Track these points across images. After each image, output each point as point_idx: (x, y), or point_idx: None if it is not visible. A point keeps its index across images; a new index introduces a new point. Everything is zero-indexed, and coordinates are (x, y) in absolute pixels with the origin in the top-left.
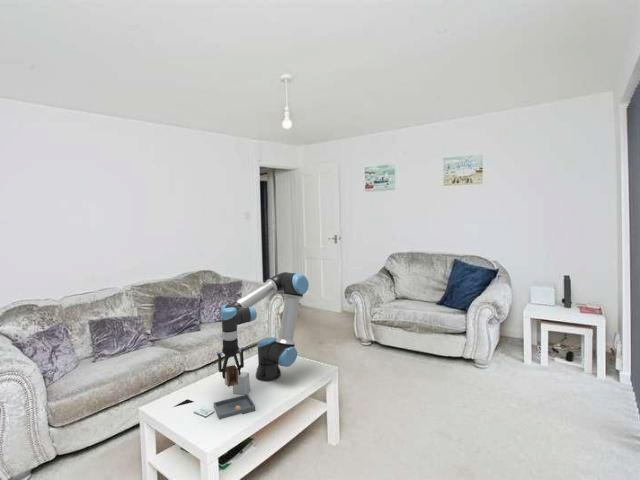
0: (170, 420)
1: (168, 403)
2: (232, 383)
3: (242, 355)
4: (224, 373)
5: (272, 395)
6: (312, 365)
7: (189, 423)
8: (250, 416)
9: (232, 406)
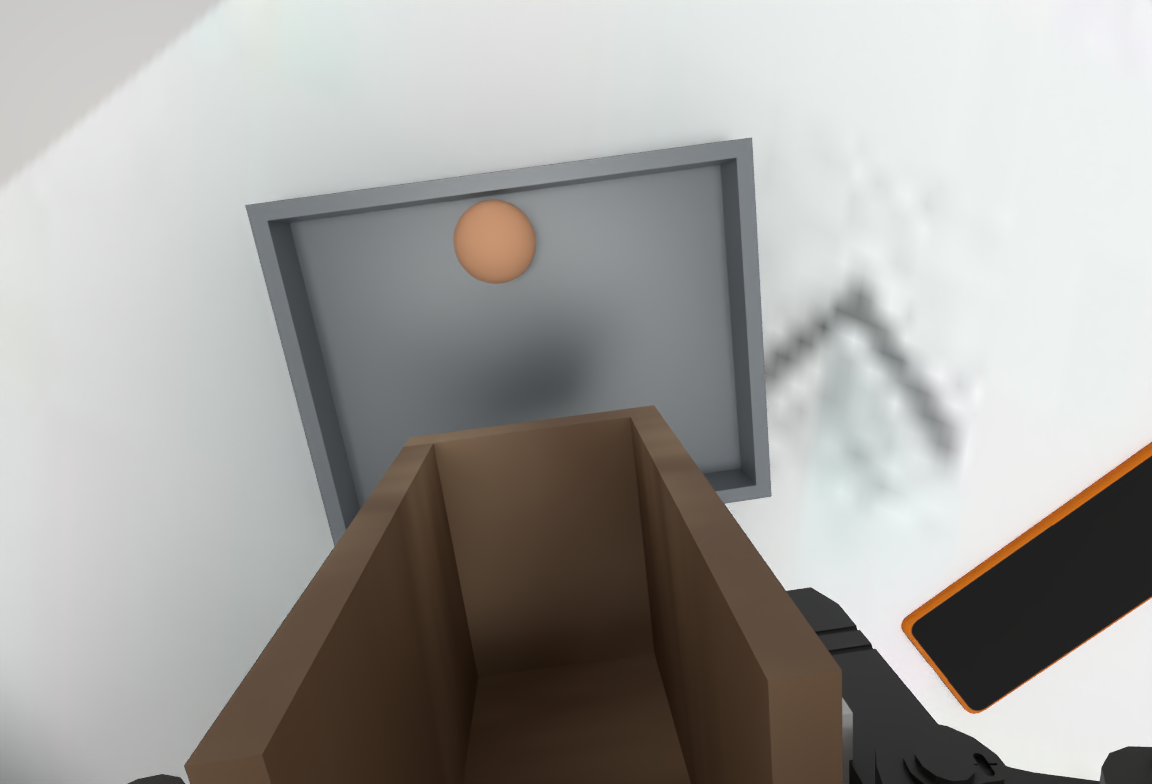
0: None
1: (1139, 698)
2: (542, 491)
3: None
4: (856, 718)
5: (40, 506)
6: None
7: (1038, 226)
8: (350, 87)
9: (550, 395)
